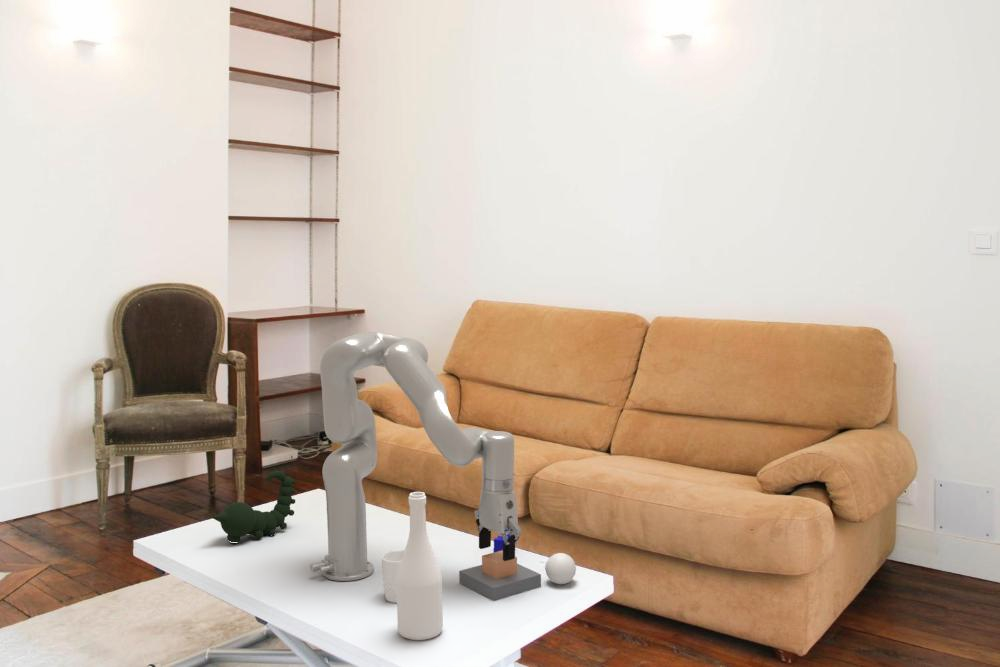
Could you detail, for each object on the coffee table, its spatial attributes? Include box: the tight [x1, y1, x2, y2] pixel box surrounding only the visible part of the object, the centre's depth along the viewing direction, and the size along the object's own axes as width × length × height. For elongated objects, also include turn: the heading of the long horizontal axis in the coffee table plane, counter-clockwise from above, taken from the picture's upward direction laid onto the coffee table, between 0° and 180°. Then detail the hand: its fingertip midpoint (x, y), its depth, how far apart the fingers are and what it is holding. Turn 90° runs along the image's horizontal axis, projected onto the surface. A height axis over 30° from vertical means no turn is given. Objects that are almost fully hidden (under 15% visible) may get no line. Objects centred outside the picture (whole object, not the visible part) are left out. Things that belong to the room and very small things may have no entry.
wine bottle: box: [396, 491, 444, 641], centre depth 193 cm, size 10×10×30 cm
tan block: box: [481, 551, 518, 579], centre depth 220 cm, size 6×6×7 cm
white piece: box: [541, 552, 577, 585], centre depth 221 cm, size 10×7×7 cm
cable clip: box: [493, 529, 510, 553], centre depth 241 cm, size 12×4×6 cm, turn 168°
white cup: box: [381, 549, 405, 604], centre depth 212 cm, size 8×8×10 cm
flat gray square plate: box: [458, 563, 542, 601], centre depth 220 cm, size 14×14×3 cm
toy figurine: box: [211, 470, 296, 542], centre depth 256 cm, size 9×19×25 cm
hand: (496, 553), depth 219 cm, fingers open, 9 cm apart
